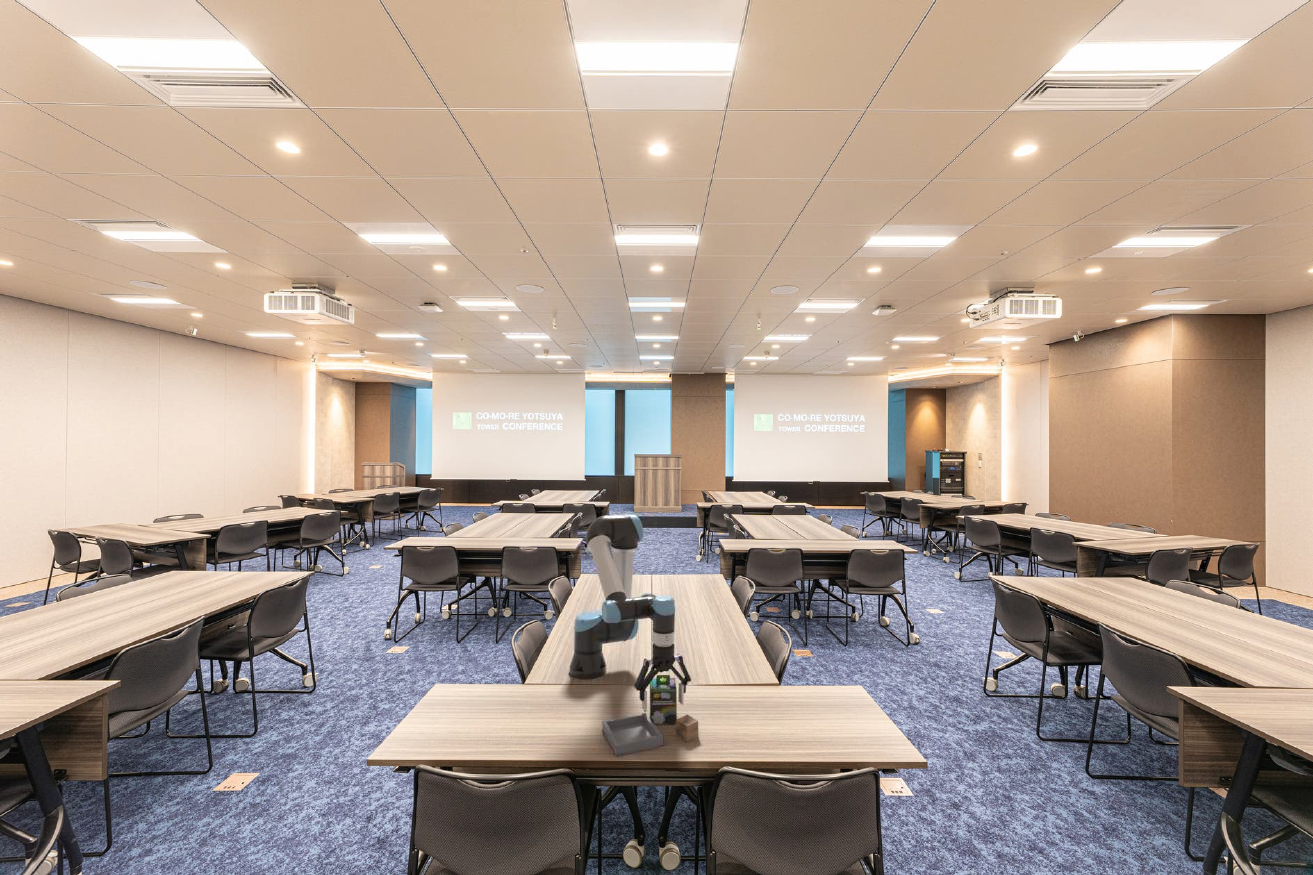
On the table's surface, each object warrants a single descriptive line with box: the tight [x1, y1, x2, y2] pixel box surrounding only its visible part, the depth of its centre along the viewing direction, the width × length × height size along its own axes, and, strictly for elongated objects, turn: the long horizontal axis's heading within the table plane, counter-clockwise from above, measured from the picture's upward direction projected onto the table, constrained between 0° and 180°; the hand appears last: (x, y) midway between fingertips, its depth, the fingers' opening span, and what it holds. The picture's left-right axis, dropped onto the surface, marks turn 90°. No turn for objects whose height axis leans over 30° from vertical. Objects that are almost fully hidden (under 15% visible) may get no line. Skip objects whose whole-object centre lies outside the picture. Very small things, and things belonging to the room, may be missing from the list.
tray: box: [601, 712, 664, 757], centre depth 156 cm, size 15×15×3 cm
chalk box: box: [649, 674, 678, 725], centre depth 169 cm, size 9×9×15 cm
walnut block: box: [675, 714, 699, 743], centre depth 158 cm, size 5×5×5 cm
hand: (662, 706), depth 169 cm, fingers open, 13 cm apart
